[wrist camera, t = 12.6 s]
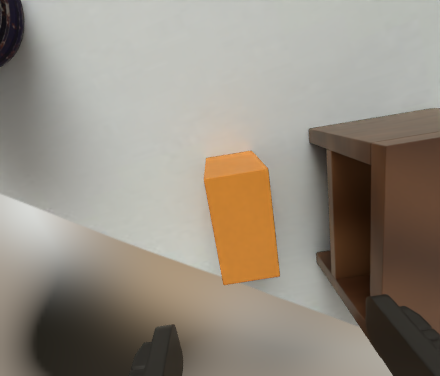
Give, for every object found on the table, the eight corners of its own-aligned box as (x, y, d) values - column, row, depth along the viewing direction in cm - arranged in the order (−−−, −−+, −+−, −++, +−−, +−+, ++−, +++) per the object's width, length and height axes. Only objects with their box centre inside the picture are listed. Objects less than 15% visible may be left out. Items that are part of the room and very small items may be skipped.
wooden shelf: (308, 128, 26) (385, 146, 14) (431, 108, 26) (610, 109, 14) (316, 262, 30) (380, 358, 19) (421, 246, 30) (551, 332, 19)
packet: (205, 158, 26) (203, 178, 19) (251, 150, 26) (268, 168, 19) (220, 238, 29) (223, 285, 21) (261, 231, 29) (280, 276, 21)
